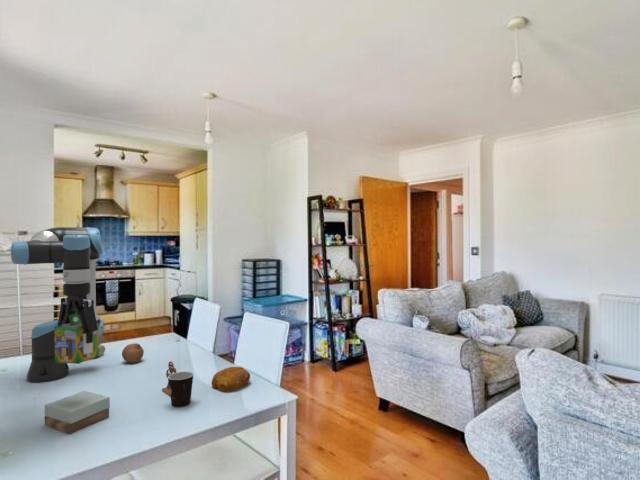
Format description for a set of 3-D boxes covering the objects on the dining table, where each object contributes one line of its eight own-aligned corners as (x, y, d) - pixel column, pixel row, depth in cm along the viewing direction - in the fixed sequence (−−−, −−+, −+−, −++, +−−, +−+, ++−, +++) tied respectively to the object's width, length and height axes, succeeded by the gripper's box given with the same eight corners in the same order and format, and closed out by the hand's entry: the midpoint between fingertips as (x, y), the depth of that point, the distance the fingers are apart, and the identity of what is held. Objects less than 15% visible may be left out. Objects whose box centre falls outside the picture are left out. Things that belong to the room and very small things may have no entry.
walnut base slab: (44, 427, 127) (44, 416, 127) (84, 411, 139) (84, 401, 139) (69, 436, 121) (69, 424, 121) (109, 418, 133) (109, 408, 133)
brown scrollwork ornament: (161, 390, 156) (161, 360, 155) (171, 388, 158) (171, 358, 158) (171, 397, 149) (170, 365, 149) (181, 394, 152) (181, 362, 152)
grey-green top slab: (44, 415, 127) (44, 404, 127) (84, 400, 139) (84, 390, 139) (70, 423, 122) (70, 412, 121) (109, 407, 133) (109, 397, 133)
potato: (255, 387, 165) (257, 367, 166) (232, 395, 151) (234, 373, 152) (227, 381, 171) (229, 361, 172) (202, 388, 157) (204, 367, 158)
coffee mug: (172, 399, 147) (171, 372, 147) (196, 398, 148) (195, 371, 148) (162, 412, 136) (162, 383, 136) (188, 411, 136) (188, 382, 136)
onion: (141, 367, 193) (150, 349, 193) (123, 367, 186) (133, 348, 186) (132, 357, 199) (141, 339, 199) (114, 356, 191) (124, 338, 191)
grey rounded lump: (95, 360, 196) (94, 339, 196) (78, 360, 196) (78, 339, 196) (107, 353, 207) (107, 334, 207) (91, 353, 207) (91, 334, 207)
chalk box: (78, 364, 124) (77, 317, 124) (53, 363, 126) (52, 316, 126) (100, 356, 133) (99, 311, 133) (76, 354, 135) (76, 311, 135)
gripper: (44, 282, 132) (45, 349, 132) (87, 285, 121) (87, 358, 121) (67, 279, 138) (68, 344, 138) (110, 282, 128) (110, 352, 128)
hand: (77, 350), depth 130 cm, fingers closed on chalk box, 10 cm apart
